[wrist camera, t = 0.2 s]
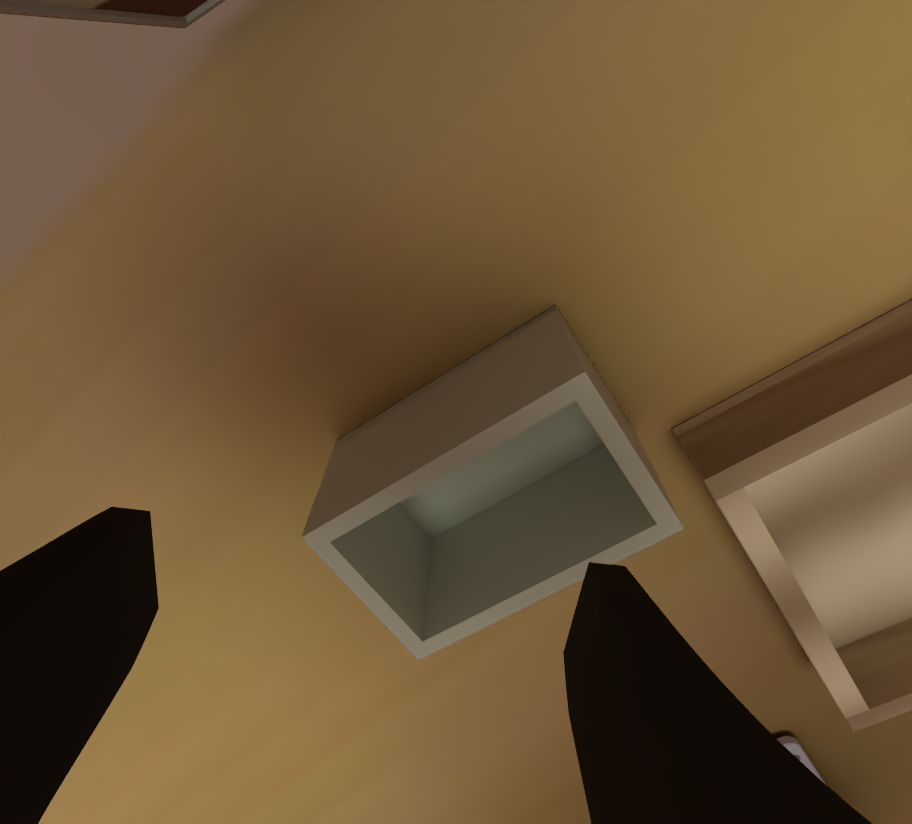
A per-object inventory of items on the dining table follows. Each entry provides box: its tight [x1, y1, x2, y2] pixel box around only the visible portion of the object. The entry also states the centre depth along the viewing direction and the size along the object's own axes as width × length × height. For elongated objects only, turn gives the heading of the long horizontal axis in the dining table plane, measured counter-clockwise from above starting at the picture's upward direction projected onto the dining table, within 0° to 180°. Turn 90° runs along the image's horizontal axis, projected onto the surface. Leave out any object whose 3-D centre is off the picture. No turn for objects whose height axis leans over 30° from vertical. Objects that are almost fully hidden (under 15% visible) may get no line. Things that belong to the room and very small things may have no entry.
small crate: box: [301, 305, 684, 660], centre depth 18 cm, size 5×8×5 cm, turn 124°
